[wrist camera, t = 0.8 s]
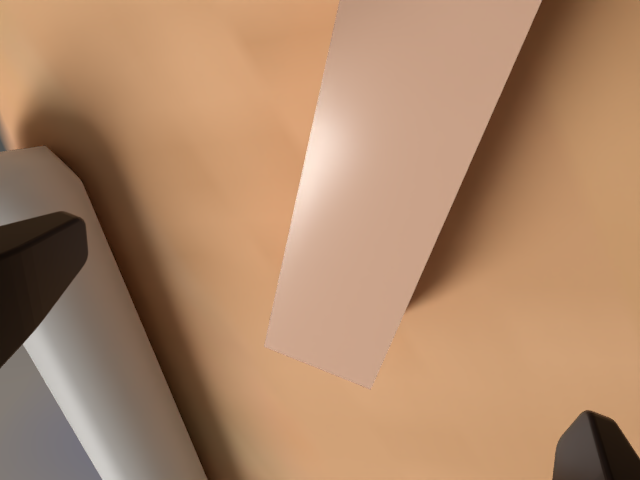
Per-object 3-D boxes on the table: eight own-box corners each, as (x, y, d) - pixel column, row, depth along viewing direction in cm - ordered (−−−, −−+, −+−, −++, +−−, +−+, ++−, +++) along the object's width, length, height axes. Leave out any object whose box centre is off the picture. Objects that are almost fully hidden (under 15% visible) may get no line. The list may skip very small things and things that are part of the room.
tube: (-107, 172, 20) (122, 544, 32) (-51, 194, 17) (178, 595, 29) (28, 122, 23) (187, 476, 36) (95, 132, 20) (243, 515, 33)
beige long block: (603, -183, 12) (633, -208, 8) (392, 314, 21) (370, 389, 18) (429, -226, 12) (397, -264, 9) (301, 279, 22) (264, 346, 19)
